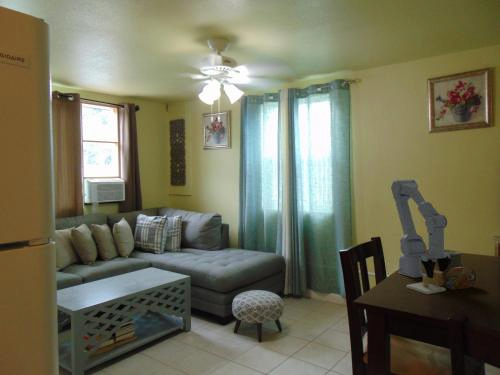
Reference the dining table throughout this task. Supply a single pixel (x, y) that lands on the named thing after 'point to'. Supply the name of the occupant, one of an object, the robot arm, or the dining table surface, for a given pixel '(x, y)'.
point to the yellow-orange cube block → (436, 278)
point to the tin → (458, 277)
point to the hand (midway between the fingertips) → (436, 276)
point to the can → (453, 259)
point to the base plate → (425, 287)
